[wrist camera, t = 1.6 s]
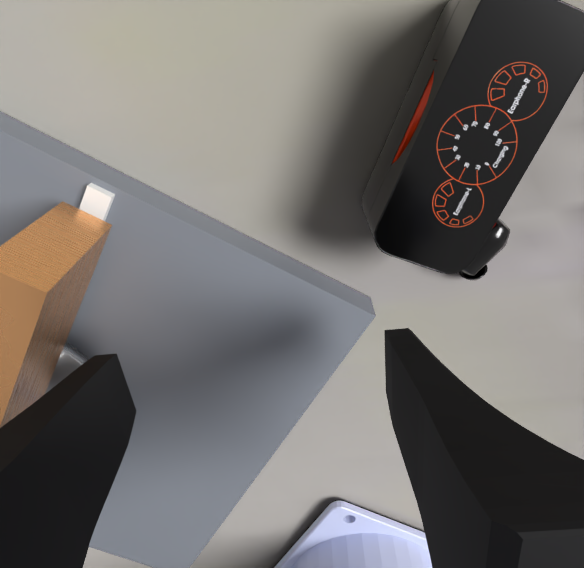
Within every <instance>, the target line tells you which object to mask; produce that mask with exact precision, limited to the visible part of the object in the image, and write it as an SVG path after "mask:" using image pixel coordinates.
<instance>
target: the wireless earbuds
mask: <svg viewBox="0 0 584 568" xmlns="http://www.w3.org/2000/svg"><path fill="white" fill-rule="evenodd" d="M583 72H584V11H583V10H581V9H579V8H576V7H574V6H572V5H570V4H568V3H565V2H563V1H561V0H450V1H449V2H448V3H447V4H446V6H445V8H444V9H443V11H442V13H441V15H440V18H439V20H438V22H437V24H436V27H435V29H434V31H433V34H432V36H431V38H430V41H429V43H428V45H427V48H426V50H425V52H424V55H423V57H422V59H421V61H420V64H419V66H418V68H417V71H416V73H415V75H414V78H413V80H412V82H411V85H410V87H409V89H408V91H407V94H406V96H405V98H404V101H403V103H402V105H401V108H400V110H399V112H398V115H397V117H396V119H395V122H394V124H393V126H392V128H391V131H390V133H389V135H388V138H387V140H386V142H385V145H384V147H383V149H382V152H381V154H380V156H379V158H378V161H377V163H376V165H375V168H374V170H373V172H372V175H371V177H370V179H369V182H368V184H367V186H366V189H365V191H364V193H363V197H362V208H363V211H364V214H365V216H366V219H367V221H368V224H369V227H370V229H371V232H372V235H373V237H374V240H375V242H376V245H377V247H378V248H379V249H380V250H381V251H382V252H384V253H385V254H387V255H390V256H393V257H396V258H399V259H402V260H405V261H408V262H411V263H414V264H417V265H420V266H422V267H425V268H428V269H431V270H434V271H437V272H440V273H446V274H452V273H457V272H459V274H460V275H461V276H462V277H463V278H466V279H468V280H478V279H480V278H481V277H483V276H484V275H485V273H486V272H487V265H486V264H487V263H488V262H489V261H490V260H491V259H492V258H493V257H494V256H495V255H496V254H498V253H499V252H500V251H501V250H502V249H503V248H504V247H505V245H506V243H507V240H508V237H509V234H510V229H509V228H508V227H507V226H506V225H505V224H504V222H503V221H502V220H500V219H499V216H500V214H501V213H502V211H503V209H504V208H505V206H506V204H507V202H508V201H509V199H510V197H511V196H512V194H513V192H514V190H515V189H516V187H517V185H518V184H519V182H520V180H521V178H522V177H523V175H524V173H525V171H526V170H527V168H528V166H529V165H530V163H531V161H532V159H533V158H534V156H535V154H536V153H537V151H538V149H539V147H540V146H541V144H542V142H543V141H544V139H545V137H546V135H547V134H548V132H549V130H550V129H551V127H552V125H553V123H554V122H555V120H556V118H557V117H558V115H559V113H560V111H561V110H562V108H563V106H564V104H565V103H566V101H567V99H568V98H569V96H570V94H571V92H572V91H573V89H574V87H575V86H576V84H577V82H578V80H579V79H580V77H581V75H582V74H583Z"/></svg>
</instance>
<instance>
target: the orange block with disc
mask: <svg viewBox="0 0 584 568" xmlns="http://www.w3.org/2000/svg"><path fill="white" fill-rule="evenodd" d="M111 227H112V224H109V223H107V222H105V221H103V220H101V219H99V218H97V217H95V216H93V215H91V214H88V213H86V212H84V211H82V210H80V209H78V208H76V207H74V206H72V205H70V204H67V203H65V202H63V201H62V202H61V203H60V204H58V205H57V206H55V207H54V208H53V209H51V210H50V211H48V212H47V213H46V214H44V215H43V216H42V217H40V218H39V219H37V220H36V221H35V222H33V223H32V224H30V225H29V226H28V227H26V228H25V229H23V230H22V231H21V232H19V233H18V234H17V235H15V236H14V237H12V238H11V239H10V240H8V241H7V242H5V243H4V244H3V245H1V246H0V428H1V427H2V426H4V425H5V424H6V423H8V422H9V421H10V420H12V419H13V418H14V417H16V416H17V415H18V414H20V413H21V412H22V411H24V410H25V409H26V408H28V407H29V406H31V405H32V404H33V403H34V402H36V401H37V400H38V399H39V398H41V397H42V396H43V395H44V394H46V393H47V392H48V391H49V390H51V389H52V388H53V387H54V386H56V385H57V384H58V383H59V382H61V381H62V380H63V379H64V378H66V377H67V376H68V375H69V374H71V373H72V372H73V371H74V370H76V369H77V368H78V367H79V366H81V365H82V364H83V363H85V362H86V361H87V360H89V358H88V357H87V356H86V355H85V354H84V353H82V352H81V351H80V350H78V349H77V348H76V347H74V346H73V345H71V344H69V343H68V342H66V341H67V338H68V336H69V333H70V331H71V328H72V326H73V323H74V321H75V318H76V316H77V313H78V310H79V308H80V305H81V303H82V300H83V298H84V295H85V293H86V290H87V288H88V285H89V283H90V280H91V278H92V275H93V273H94V270H95V267H96V265H97V262H98V260H99V257H100V255H101V252H102V250H103V247H104V245H105V242H106V240H107V237H108V235H109V232H110V230H111Z"/></svg>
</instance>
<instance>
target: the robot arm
mask: <svg viewBox="0 0 584 568" xmlns="http://www.w3.org/2000/svg"><path fill="white" fill-rule="evenodd" d="M385 367H386V394H387V399H388V404H389V410H390V415H391V420H392V425H393V428H394V431H395V435H396V438H397V441H398V444H399V447H400V450H401V453H402V457H403V460H404V463H405V466H406V469H407V472H408V475H409V478H410V481H411V484H412V488H413V491H414V494H415V497H416V500H417V503H418V507H419V511H420V514H421V518H422V522H423V526H424V531H425V533H424V532H422V531H419V530H417V529H414V528H411V527H409V526H406V525H404V524H401V523H399V522H396V521H393V520H391V519H388V518H386V517H383V516H381V515H378V514H375V513H373V512H370V511H368V510H365V509H363V508H360V507H357V506H355V505H352V504H350V503H347V502H345V501H334V502H332V503H331V504H330V505H329V506H328V507H327V508H326V509H325V510H324V511H323V512H322V514H321V515H320V516H319V517H318V518H317V519H316V520H315V522H314V523H313V524H312V525H311V526H310V527H309V528H308V530H307V531H306V532H305V533H304V534H303V535H302V536H301V538H300V539H299V540H298V541H297V542H296V543H295V544H294V546H293V547H292V548H291V549H290V550H289V551H288V552H287V553H286V555H285V556H284V557H283V558H282V559H281V560H280V561H279V563H278V564H277V565H276V566H275V567H274V568H584V460H583V459H580V458H578V457H576V456H574V455H572V454H570V453H568V452H566V451H564V450H563V449H561V448H559V447H557V446H555V445H553V444H551V443H550V442H548V441H546V440H544V439H543V438H541V437H539V436H538V435H536V434H534V433H532V432H531V431H529V430H527V429H526V428H524V427H522V426H521V425H519V424H518V423H516V422H514V421H513V420H511V419H510V418H508V417H507V416H506V415H504V414H503V413H501V412H500V411H498V410H497V409H496V408H494V407H493V406H491V405H490V404H488V403H487V402H486V401H485V400H483V399H482V398H481V397H480V396H478V395H477V394H476V393H475V392H473V391H472V390H471V389H470V388H469V387H467V386H466V385H465V384H464V383H463V382H462V381H461V380H459V379H458V378H457V377H456V376H455V375H454V374H453V373H452V372H451V371H450V370H449V369H448V368H447V367H446V366H444V365H443V364H442V363H441V362H440V361H439V360H438V359H437V358H436V357H435V356H434V355H433V354H432V353H431V352H430V351H429V349H428V348H427V347H426V346H425V345H424V344H423V343H422V342H421V341H420V340H419V339H418V338H417V336H416V335H415V334H414V333H413V332H412V331H411V330H410V329H408V328H406V329H394V330H385ZM135 415H136V408H135V405H134V402H133V399H132V396H131V394H130V391H129V388H128V385H127V382H126V379H125V376H124V373H123V370H122V368H121V365H120V362H119V359H118V356H117V354H105V355H95V356H93V357H92V358H90V359H89V360H87V361H86V362H85V363H83V364H82V365H81V366H79V367H78V368H77V369H76V370H74V371H73V372H72V373H71V374H69V375H68V376H67V377H66V378H64V379H63V380H62V381H61V382H59V383H58V384H57V385H56V386H54V387H53V388H52V389H51V390H49V391H48V392H47V393H46V394H44V395H43V396H42V397H41V398H39V399H38V400H37V401H36V402H34V403H33V404H32V405H31V406H29V407H28V408H26V409H25V410H24V411H22V412H21V413H20V414H18V415H17V416H16V417H14V418H13V419H12V420H10V421H9V422H8V423H6V424H5V425H4V426H2V427H1V428H0V568H83V564H84V561H85V557H86V554H87V550H88V547H89V544H90V540H91V538H92V535H93V532H94V529H95V526H96V524H97V521H98V519H99V516H100V514H101V511H102V509H103V506H104V504H105V501H106V499H107V497H108V494H109V492H110V489H111V487H112V484H113V482H114V479H115V477H116V475H117V472H118V470H119V467H120V465H121V462H122V460H123V457H124V454H125V452H126V449H127V447H128V444H129V440H130V436H131V432H132V428H133V424H134V420H135Z"/></svg>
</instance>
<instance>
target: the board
mask: <svg viewBox="0 0 584 568" xmlns="http://www.w3.org/2000/svg"><path fill="white" fill-rule="evenodd" d="M62 201H63V202H65V203H67V204H70V205H72V206H74V207H76V208H78V209H80V210H82V211H84V212H86V213H88V214H91V215H93V216H95V217H97V218H99V219H101V220H103V221H105V222H107V223H109V224H112V227H111V230H110V232H109V235H108V237H107V240H106V242H105V245H104V247H103V250H102V252H101V255H100V257H99V260H98V262H97V265H96V267H95V270H94V273H93V275H92V278H91V280H90V283H89V285H88V288H87V290H86V293H85V295H84V298H83V300H82V303H81V305H80V308H79V310H78V313H77V316H76V318H75V321H74V323H73V326H72V328H71V331H70V333H69V336H68V338H67V341H66V342H68V343H69V344H71V345H73V346H74V347H76V348H77V349H78V350H80V351H81V352H82V353H84V354H85V355H86V356H87V357H88V358H89V359H90V358H92V357H93V356H95V355H105V354H117V356H118V359H119V362H120V365H121V368H122V370H123V373H124V376H125V379H126V382H127V385H128V388H129V391H130V394H131V396H132V399H133V402H134V405H135V408H136V415H135V420H134V424H133V428H132V432H131V436H130V440H129V444H128V447H127V449H126V452H125V454H124V457H123V460H122V462H121V465H120V467H119V470H118V472H117V475H116V477H115V479H114V482H113V484H112V487H111V489H110V492H109V494H108V497H107V499H106V501H105V504H104V506H103V509H102V511H101V514H100V516H99V519H98V521H97V524H96V526H95V529H94V532H93V535H92V538H91V540H90V544H89V547H91V548H94V549H97V550H101V551H104V552H107V553H110V554H113V555H116V556H119V557H122V558H125V559H129V560H132V561H135V562H138V563H141V564H144V565H147V566H150V567H153V568H190V566H191V565H192V564H193V562H194V561H195V559H196V558H197V557H198V555H199V554H200V553H201V551H202V550H203V549H204V547H205V546H206V545H207V543H208V542H209V541H210V539H211V538H212V536H213V535H214V534H215V532H216V531H217V530H218V528H219V527H220V526H221V524H222V523H223V522H224V520H225V519H226V518H227V516H228V515H229V514H230V512H231V511H232V509H233V508H234V507H235V505H236V504H237V503H238V501H239V500H240V499H241V497H242V496H243V495H244V493H245V492H246V491H247V489H248V488H249V486H250V485H251V484H252V482H253V481H254V480H255V478H256V477H257V476H258V474H259V473H260V472H261V470H262V469H263V468H264V466H265V465H266V463H267V462H268V461H269V459H270V458H271V457H272V455H273V454H274V453H275V451H276V450H277V449H278V447H279V446H280V445H281V443H282V442H283V441H284V439H285V438H286V436H287V435H288V434H289V432H290V431H291V430H292V428H293V427H294V426H295V424H296V423H297V422H298V420H299V419H300V418H301V416H302V415H303V413H304V412H305V411H306V409H307V408H308V407H309V405H310V404H311V403H312V401H313V400H314V399H315V397H316V396H317V395H318V393H319V392H320V390H321V389H322V388H323V386H324V385H325V384H326V382H327V381H328V380H329V378H330V377H331V376H332V374H333V373H334V372H335V370H336V369H337V368H338V366H339V365H340V363H341V362H342V361H343V359H344V358H345V357H346V355H347V354H348V353H349V351H350V350H351V349H352V347H353V346H354V345H355V343H356V342H357V340H358V339H359V338H360V336H361V335H362V334H363V332H364V331H365V330H366V328H367V327H368V326H369V324H370V323H371V322H372V320H373V319H374V318H375V316H376V315H375V312H374V308H373V305H372V301H371V298H370V297H368V296H366V295H364V294H362V293H360V292H358V291H356V290H355V289H353V288H351V287H349V286H347V285H345V284H343V283H341V282H339V281H337V280H335V279H333V278H331V277H329V276H327V275H325V274H323V273H321V272H319V271H317V270H315V269H313V268H311V267H309V266H307V265H305V264H303V263H301V262H299V261H297V260H295V259H293V258H291V257H289V256H287V255H285V254H283V253H281V252H279V251H277V250H275V249H273V248H271V247H269V246H267V245H265V244H263V243H261V242H259V241H257V240H255V239H253V238H251V237H249V236H247V235H245V234H243V233H241V232H239V231H237V230H235V229H233V228H231V227H229V226H227V225H225V224H223V223H221V222H219V221H217V220H215V219H213V218H211V217H209V216H207V215H205V214H203V213H201V212H199V211H197V210H195V209H193V208H192V207H190V206H188V205H186V204H184V203H182V202H180V201H178V200H176V199H174V198H172V197H170V196H168V195H166V194H164V193H162V192H160V191H158V190H156V189H154V188H152V187H150V186H148V185H146V184H144V183H142V182H140V181H138V180H136V179H134V178H132V177H130V176H128V175H126V174H124V173H122V172H120V171H118V170H116V169H114V168H112V167H110V166H108V165H106V164H104V163H102V162H100V161H98V160H96V159H94V158H92V157H90V156H88V155H86V154H84V153H82V152H80V151H78V150H76V149H74V148H72V147H70V146H68V145H66V144H64V143H62V142H60V141H58V140H56V139H54V138H52V137H50V136H48V135H46V134H44V133H42V132H40V131H38V130H36V129H34V128H32V127H30V126H29V125H27V124H25V123H23V122H21V121H19V120H17V119H15V118H13V117H11V116H9V115H7V114H5V113H3V112H1V111H0V246H1V245H3V244H4V243H5V242H7V241H8V240H10V239H11V238H12V237H14V236H15V235H17V234H18V233H19V232H21V231H22V230H23V229H25V228H26V227H28V226H29V225H30V224H32V223H33V222H35V221H36V220H37V219H39V218H40V217H42V216H43V215H44V214H46V213H47V212H48V211H50V210H51V209H53V208H54V207H55V206H57V205H58V204H60V203H61V202H62Z"/></svg>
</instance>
